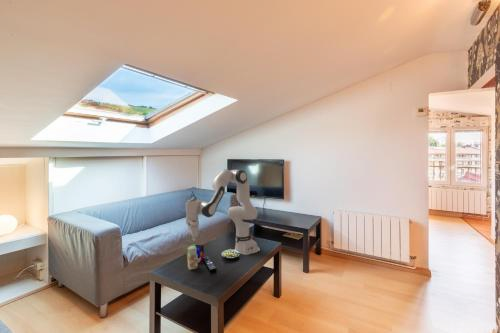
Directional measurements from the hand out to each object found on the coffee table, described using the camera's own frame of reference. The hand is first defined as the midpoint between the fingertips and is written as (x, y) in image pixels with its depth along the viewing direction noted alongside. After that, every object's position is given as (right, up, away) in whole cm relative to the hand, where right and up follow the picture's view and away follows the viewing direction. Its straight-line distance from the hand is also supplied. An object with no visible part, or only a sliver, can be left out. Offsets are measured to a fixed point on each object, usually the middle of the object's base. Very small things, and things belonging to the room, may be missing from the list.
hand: (192, 238), depth 187 cm
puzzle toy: (-1, -21, +15) cm, 26 cm away
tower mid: (0, -17, +1) cm, 17 cm away
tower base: (0, -22, +1) cm, 22 cm away
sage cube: (0, -12, +1) cm, 12 cm away
